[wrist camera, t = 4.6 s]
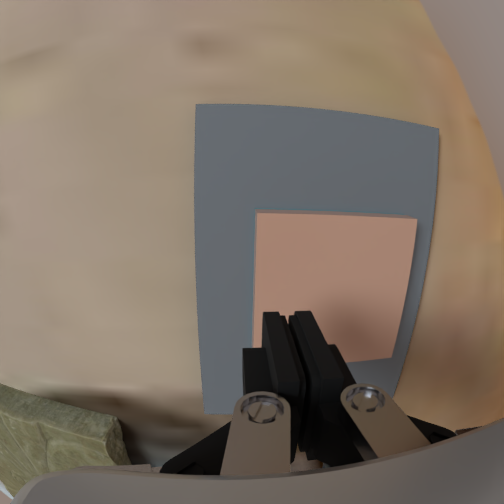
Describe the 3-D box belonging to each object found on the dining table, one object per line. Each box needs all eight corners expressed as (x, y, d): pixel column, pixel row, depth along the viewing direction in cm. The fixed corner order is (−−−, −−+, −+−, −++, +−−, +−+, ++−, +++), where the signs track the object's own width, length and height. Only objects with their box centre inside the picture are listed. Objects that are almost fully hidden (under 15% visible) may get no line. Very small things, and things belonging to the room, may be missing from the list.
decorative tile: (20, 483, 24) (11, 501, 21) (-44, 361, 19) (-64, 380, 15) (155, 522, 26) (152, 545, 22) (126, 411, 20) (114, 445, 17)
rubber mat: (387, 393, 20) (391, 399, 20) (205, 405, 20) (204, 413, 19) (431, 129, 16) (438, 128, 15) (197, 106, 15) (195, 104, 14)
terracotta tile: (250, 352, 18) (381, 344, 18) (252, 367, 16) (391, 357, 17) (254, 208, 15) (403, 213, 16) (257, 213, 14) (417, 219, 15)
